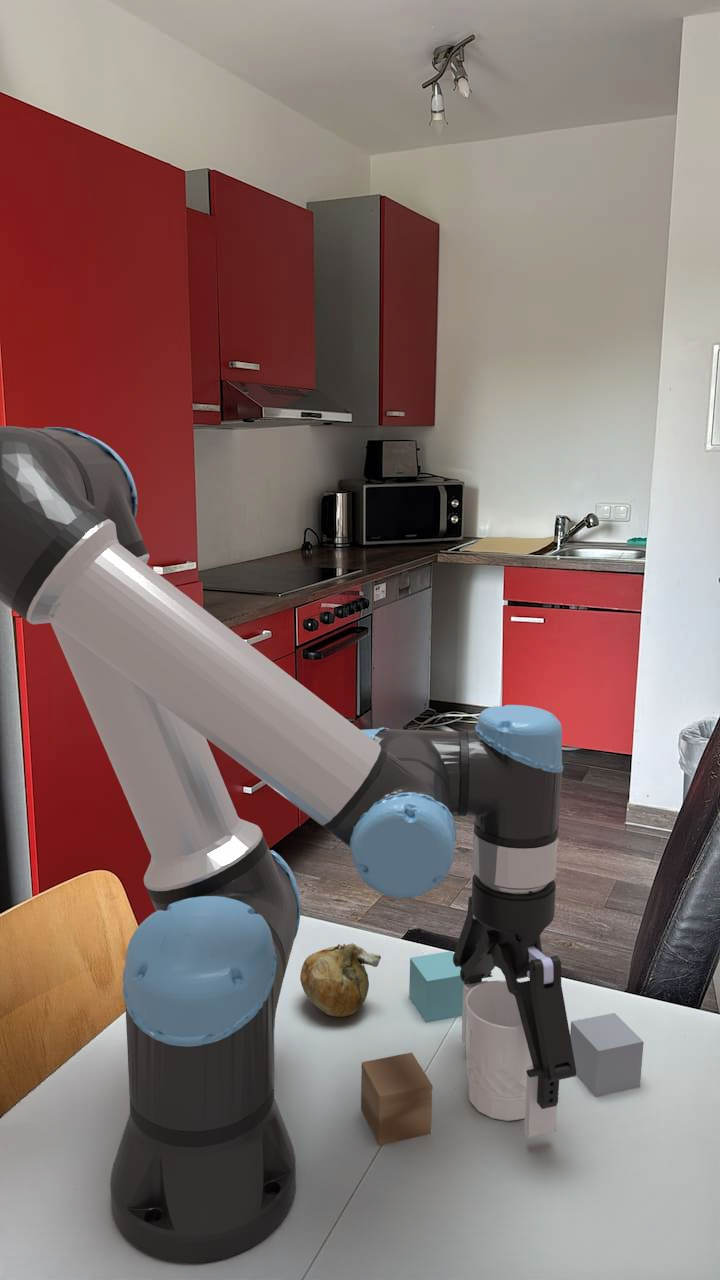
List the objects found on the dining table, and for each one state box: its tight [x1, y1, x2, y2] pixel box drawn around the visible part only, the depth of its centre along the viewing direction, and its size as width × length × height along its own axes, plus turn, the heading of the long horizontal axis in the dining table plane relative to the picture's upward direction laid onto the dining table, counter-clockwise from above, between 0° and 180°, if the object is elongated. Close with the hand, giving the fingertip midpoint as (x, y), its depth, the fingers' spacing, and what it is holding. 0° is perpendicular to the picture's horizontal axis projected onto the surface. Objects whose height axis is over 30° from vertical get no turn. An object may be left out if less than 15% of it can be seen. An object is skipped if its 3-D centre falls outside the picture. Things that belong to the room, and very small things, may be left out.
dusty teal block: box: [408, 950, 464, 1023], centre depth 106 cm, size 5×5×5 cm
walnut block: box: [360, 1052, 433, 1146], centre depth 87 cm, size 5×5×5 cm
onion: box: [299, 942, 382, 1018], centre depth 105 cm, size 8×8×8 cm
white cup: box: [465, 979, 533, 1122], centre depth 90 cm, size 8×8×10 cm
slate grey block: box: [569, 1012, 645, 1098], centre depth 94 cm, size 5×5×5 cm
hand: (505, 1084), depth 91 cm, fingers open, 13 cm apart
